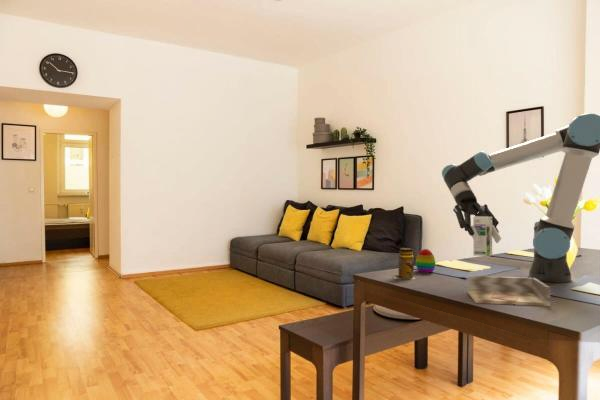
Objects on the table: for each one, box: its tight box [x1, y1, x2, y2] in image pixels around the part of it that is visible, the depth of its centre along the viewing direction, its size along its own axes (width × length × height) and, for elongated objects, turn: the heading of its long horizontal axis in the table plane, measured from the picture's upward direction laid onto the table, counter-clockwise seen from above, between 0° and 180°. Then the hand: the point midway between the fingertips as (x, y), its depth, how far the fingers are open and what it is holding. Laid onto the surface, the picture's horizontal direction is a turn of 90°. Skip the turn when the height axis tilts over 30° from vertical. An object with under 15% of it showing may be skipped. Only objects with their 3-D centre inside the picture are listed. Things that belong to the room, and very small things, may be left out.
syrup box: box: [472, 215, 493, 257], centre depth 166 cm, size 6×6×14 cm
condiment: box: [392, 247, 416, 280], centre depth 183 cm, size 7×8×12 cm
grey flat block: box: [467, 275, 551, 307], centre depth 149 cm, size 22×14×6 cm, turn 80°
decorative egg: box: [415, 248, 436, 274], centre depth 195 cm, size 8×8×10 cm
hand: (488, 241), depth 162 cm, fingers closed on syrup box, 8 cm apart
